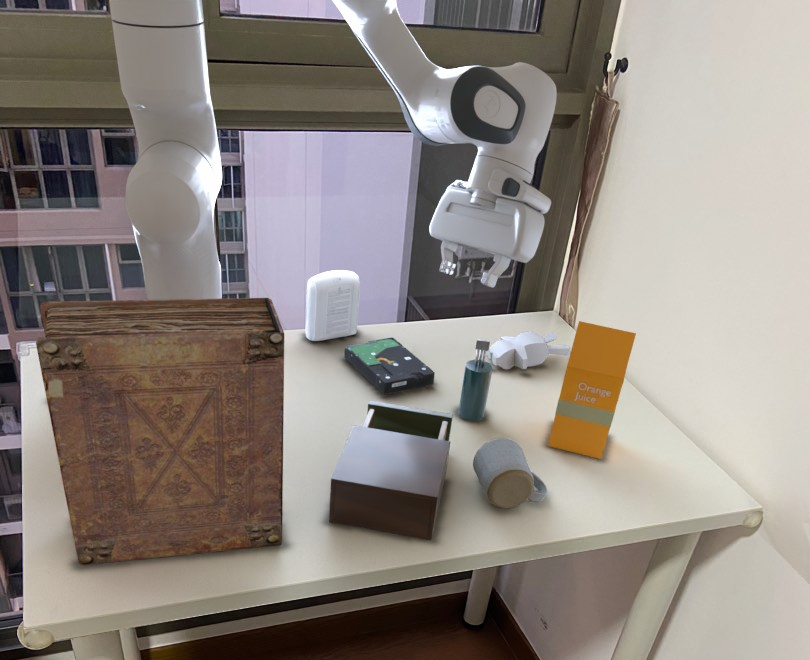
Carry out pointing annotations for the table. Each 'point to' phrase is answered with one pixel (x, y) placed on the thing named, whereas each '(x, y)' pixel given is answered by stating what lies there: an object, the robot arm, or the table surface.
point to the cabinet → (389, 482)
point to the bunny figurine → (525, 350)
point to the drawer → (408, 420)
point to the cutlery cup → (476, 385)
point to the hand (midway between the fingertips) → (465, 279)
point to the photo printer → (332, 305)
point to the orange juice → (591, 389)
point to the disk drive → (389, 365)
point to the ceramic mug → (506, 474)
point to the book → (166, 423)
